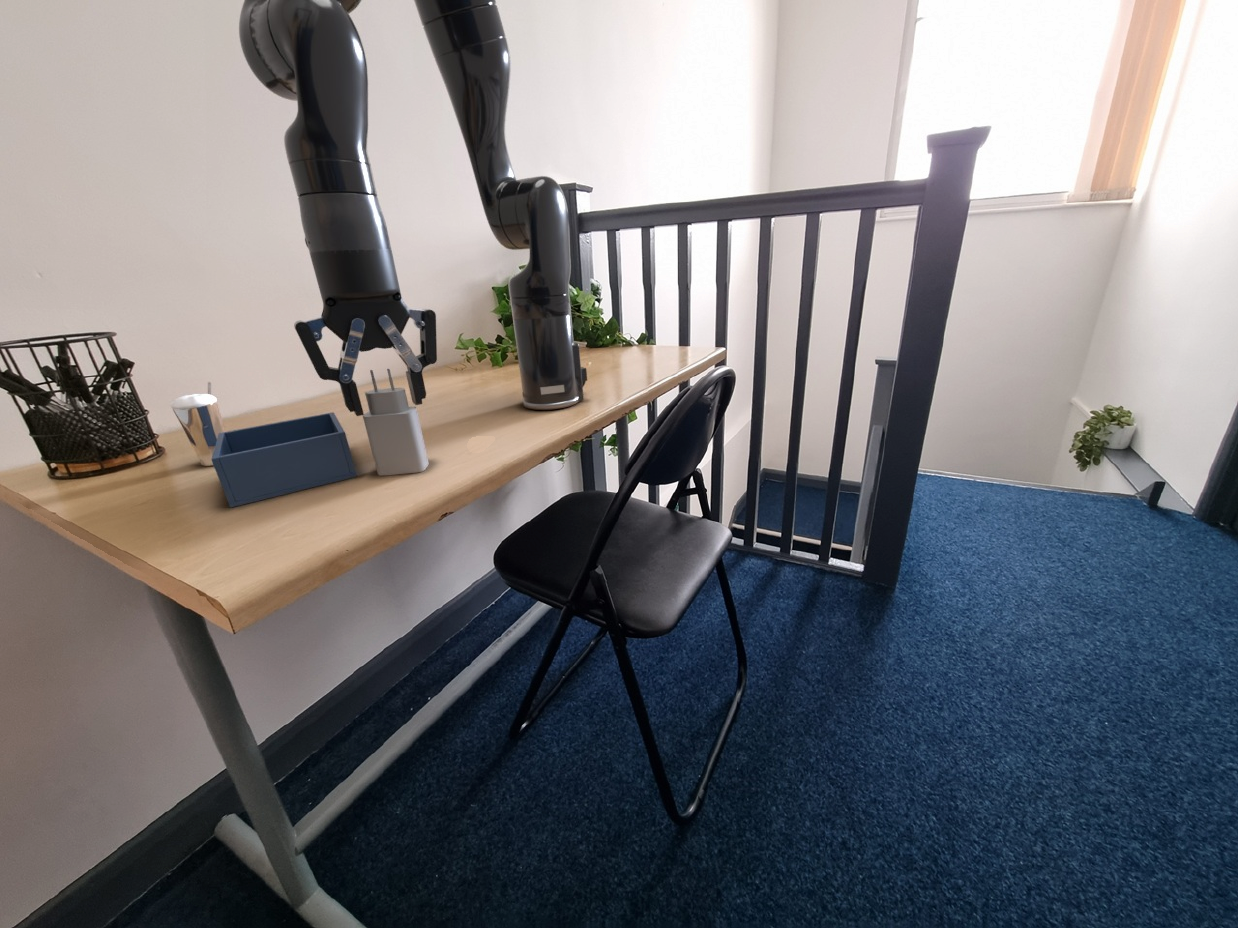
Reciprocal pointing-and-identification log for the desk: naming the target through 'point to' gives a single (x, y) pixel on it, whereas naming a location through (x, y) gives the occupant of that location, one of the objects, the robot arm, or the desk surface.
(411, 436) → the power adapter
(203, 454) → the milkshake
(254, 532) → the desk surface
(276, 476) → the basket
